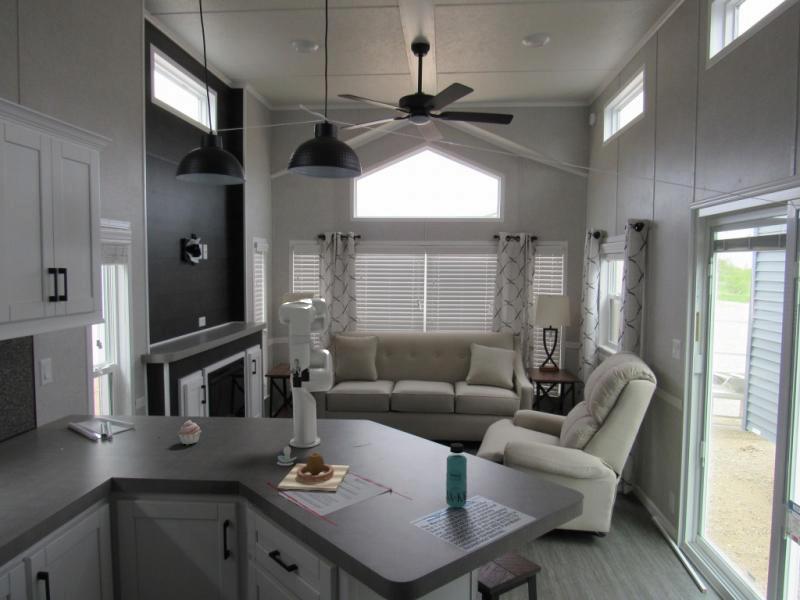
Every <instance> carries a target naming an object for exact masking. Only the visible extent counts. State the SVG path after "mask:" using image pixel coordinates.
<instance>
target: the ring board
mask: <svg viewBox="0 0 800 600" xmlns="http://www.w3.org/2000/svg"><path fill="white" fill-rule="evenodd" d="M350 468H351V467H350V465H341V464H339V465H336V464H328V463H324V468H323V470H322V472H321V473H319V474H318V475H313V474H311V473H309V471H308V469H307V465H306V463H296V464H295V465H294V466H293V467H292V469H291V470H290V471H289V472H288V473H287V475H286V476H285V477H284V478H283V480H282V481H280V483H279V484H278V485H277V489H278V488H284V489H283V490H289V489H307V490H306V491H309V490H325V491H324V492H329V491H336V492H337V491H338V490H339V488H340V486H341V484H342V483H343V481H344V480H345V478H344V477H346V476H347V474H348V472H349V470H350ZM341 482H342V483H341ZM338 487H339V488H338ZM337 489H338V490H337Z"/></svg>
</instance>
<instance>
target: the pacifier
mask: <svg viewBox="0 0 800 600" xmlns="http://www.w3.org/2000/svg"><path fill="white" fill-rule="evenodd" d="M291 452H292V448H291V447H290V446H288V445H287V446H285V447H284V448H283V454H284V455H278V456H277V460H278V461H277V463H276V464H277V465H279V466H283V467H284V466H292V465H294V462H293V461H294V460H296V459H297V458H298V457H297V456H294V457H292V458H291ZM284 463H286V464H284ZM288 463H289V464H288Z"/></svg>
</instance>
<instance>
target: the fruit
mask: <svg viewBox="0 0 800 600" xmlns="http://www.w3.org/2000/svg"><path fill="white" fill-rule="evenodd" d="M305 464H306V465H307V469H308V471H309V473H311V474H313V475H318V474H319V473H321V472H322V470H323V468H324V464H325V460H324V458H323V455H322V454H321V453H318V452H313V453H310V454H309V455H308V457H307V459H306V463H305Z"/></svg>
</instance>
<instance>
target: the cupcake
mask: <svg viewBox="0 0 800 600" xmlns="http://www.w3.org/2000/svg"><path fill="white" fill-rule="evenodd" d="M201 432H202V430H201V428H200V426H199V425H197V423H196V422H193V421H192V420H191V419H189V420H187V421H185V422H184V423H183V425H181V426H180V430H179V432H178V433H177V435H178V436H179V438H180V441H181V442H180V443H181V444H182V445H183V444H193V443H196V442H197V443H199V439H200V435H201ZM197 443H196V444H197ZM193 445H194V444H193Z"/></svg>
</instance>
